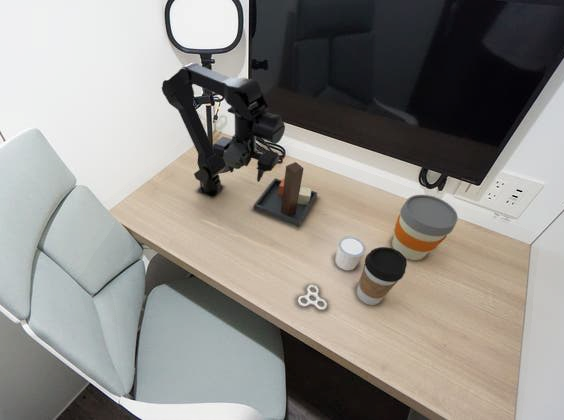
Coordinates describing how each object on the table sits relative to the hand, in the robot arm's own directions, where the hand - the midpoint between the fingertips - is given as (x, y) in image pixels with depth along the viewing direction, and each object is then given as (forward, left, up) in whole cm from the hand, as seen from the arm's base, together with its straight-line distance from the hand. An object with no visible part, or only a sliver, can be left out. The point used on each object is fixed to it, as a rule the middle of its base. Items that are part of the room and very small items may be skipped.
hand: (245, 176), depth 94 cm
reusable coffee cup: (+49, +9, -13) cm, 52 cm away
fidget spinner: (+31, -20, -13) cm, 39 cm away
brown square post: (+13, +4, -12) cm, 19 cm away
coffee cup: (+43, -12, -13) cm, 47 cm away
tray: (+11, +8, -13) cm, 19 cm away
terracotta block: (+9, +13, -12) cm, 20 cm away
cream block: (+15, +12, -12) cm, 23 cm away
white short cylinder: (+35, -5, -13) cm, 38 cm away
